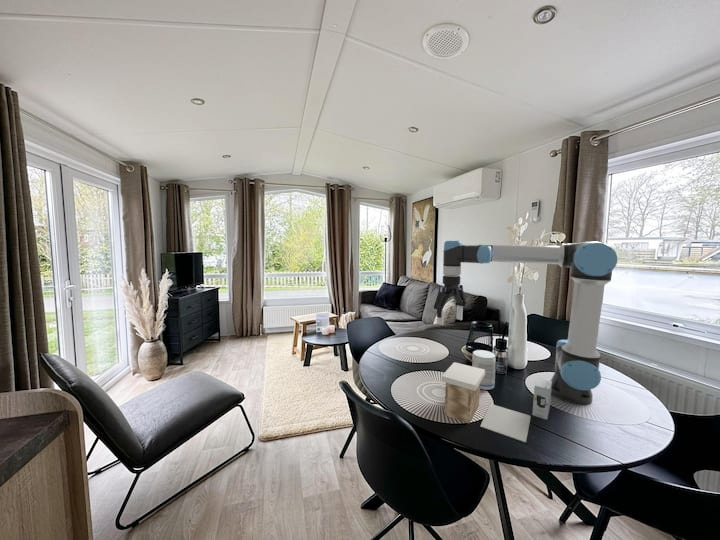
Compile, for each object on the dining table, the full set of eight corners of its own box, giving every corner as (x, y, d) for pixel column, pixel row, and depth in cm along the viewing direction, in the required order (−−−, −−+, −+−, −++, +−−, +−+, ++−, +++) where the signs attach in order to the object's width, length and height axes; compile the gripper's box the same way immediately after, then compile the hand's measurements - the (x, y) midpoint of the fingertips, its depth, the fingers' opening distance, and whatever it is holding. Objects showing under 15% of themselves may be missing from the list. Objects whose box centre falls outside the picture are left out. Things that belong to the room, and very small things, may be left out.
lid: (484, 377, 113) (485, 369, 113) (475, 394, 101) (475, 385, 101) (453, 369, 120) (454, 362, 120) (441, 384, 108) (441, 376, 108)
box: (478, 405, 115) (480, 374, 114) (469, 423, 104) (471, 389, 102) (455, 398, 120) (457, 368, 119) (444, 415, 109) (445, 381, 107)
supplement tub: (498, 386, 130) (500, 355, 128) (486, 393, 124) (487, 359, 123) (479, 378, 138) (480, 348, 136) (466, 383, 133) (468, 352, 131)
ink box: (535, 405, 116) (537, 376, 114) (550, 409, 112) (552, 380, 111) (531, 415, 109) (533, 385, 108) (547, 420, 106) (549, 389, 105)
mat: (530, 416, 108) (530, 415, 108) (525, 442, 94) (526, 441, 94) (490, 404, 116) (490, 403, 116) (480, 426, 102) (480, 425, 102)
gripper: (461, 272, 140) (459, 315, 142) (426, 276, 126) (424, 324, 128) (475, 274, 134) (473, 319, 136) (440, 278, 120) (438, 328, 122)
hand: (450, 321), depth 132 cm, fingers open, 13 cm apart
